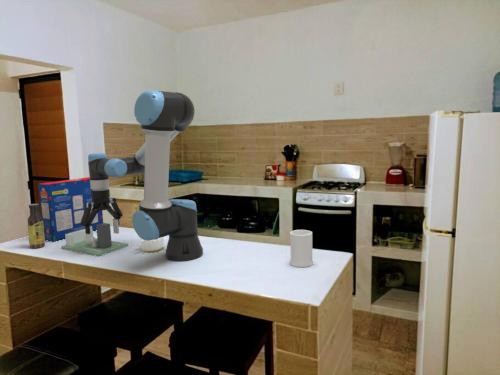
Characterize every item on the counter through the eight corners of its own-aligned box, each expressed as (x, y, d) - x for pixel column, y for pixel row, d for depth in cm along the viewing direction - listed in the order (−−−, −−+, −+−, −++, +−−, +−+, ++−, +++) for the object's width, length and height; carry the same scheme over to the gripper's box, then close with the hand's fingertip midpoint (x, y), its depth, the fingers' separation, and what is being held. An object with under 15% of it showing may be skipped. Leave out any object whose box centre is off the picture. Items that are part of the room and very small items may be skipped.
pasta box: (94, 227, 206) (90, 177, 202) (103, 228, 202) (99, 177, 198) (44, 240, 183) (38, 183, 179) (53, 242, 179) (47, 184, 175)
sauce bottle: (39, 249, 168) (34, 205, 165) (26, 248, 169) (21, 205, 166) (48, 244, 175) (44, 203, 172) (36, 244, 176) (32, 203, 173)
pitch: (128, 245, 169) (127, 233, 168) (98, 256, 155) (96, 242, 154) (92, 239, 182) (91, 227, 181) (61, 248, 168) (59, 235, 167)
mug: (300, 256, 149) (299, 226, 147) (320, 259, 144) (320, 229, 142) (286, 265, 139) (285, 233, 137) (307, 269, 134) (306, 236, 132)
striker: (113, 245, 166) (111, 223, 165) (102, 248, 161) (100, 226, 160) (102, 243, 170) (100, 221, 168) (91, 246, 165) (89, 224, 164)
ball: (97, 243, 170) (96, 235, 170) (90, 246, 167) (89, 237, 166) (92, 242, 172) (91, 234, 172) (84, 245, 169) (83, 236, 168)
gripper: (117, 184, 174) (120, 229, 177) (68, 193, 152) (72, 243, 155) (128, 185, 170) (131, 231, 173) (79, 194, 149) (84, 245, 152)
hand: (103, 237), depth 164 cm, fingers open, 13 cm apart
